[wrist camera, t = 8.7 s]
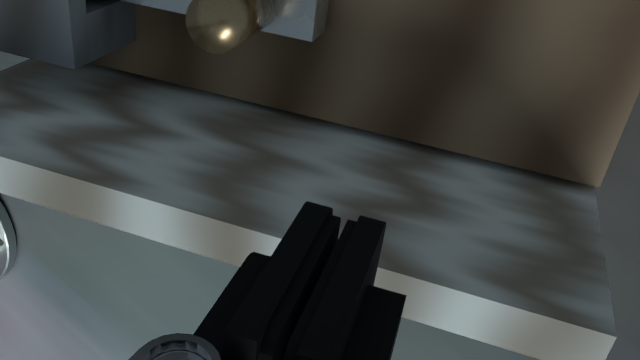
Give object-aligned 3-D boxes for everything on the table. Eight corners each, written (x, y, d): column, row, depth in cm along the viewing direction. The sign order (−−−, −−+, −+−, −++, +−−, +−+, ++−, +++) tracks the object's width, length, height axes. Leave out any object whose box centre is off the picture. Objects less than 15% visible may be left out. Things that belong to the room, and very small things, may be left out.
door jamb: (60, 77, 38) (-109, 159, 28) (29, -187, 31) (-215, -202, 21) (579, 209, 32) (596, 377, 22) (700, -88, 24) (809, -41, 14)
